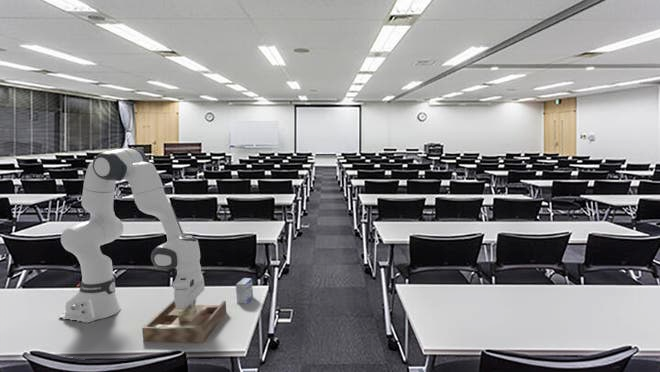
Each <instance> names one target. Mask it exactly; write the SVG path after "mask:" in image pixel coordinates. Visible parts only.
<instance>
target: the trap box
mask: <svg viewBox="0 0 660 372" xmlns="http://www.w3.org/2000/svg"><path fill="white" fill-rule="evenodd" d="M226 302H227V301H226V300H222V301H221V303H220V304H219V305H218V304H217V305H216V304H213V305H212V304H195V306H196V312H197V316H196V317H195V318H194V320H193V321H192V322H184V321H179V318H178V311H179V310H180V309H177V308H176V306H175V299H173V300H171V301H170V302H169V303H168V304H167V305H166V306H165V307H164V308H163V309H161V311H159V312H158V313H157V314H156V315H155V316H154V317H153V318H152V319H150V320H149V321H148V322H147V323H146V324H144V326H142V328H141V330H142V340H143V342H153V343H155V342H156V343H157V342H160V343H183V344H184V343H186V344H187V343H191V344H204V343H205V342H206V340H207V339H208V337H209V336H210V334H211V333H212V332H213V331H214V329H215V328H216V326H218V325H219V323H220V321H221V320H222V319H223V318H224V316H225V315H226V314H227V303H226Z"/></svg>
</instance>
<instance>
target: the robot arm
mask: <svg viewBox="0 0 660 372" xmlns="http://www.w3.org/2000/svg"><path fill="white" fill-rule="evenodd" d="M156 168H157V167H155V165H154V164H153V163H151V162H148V156H147V154H146V153H145V152H144V151H143V150H142V149H139V148H134V147H129V148H118V149H114V150H109V151H103V152H100V153H98V154H96V156H95V157H94V158H93V160H92V161H91V162H89V164H88V166H87V169H86V172H85V175H84V181H83V188H82V195H81V196H82V197H81V206H82V208H83V209H84V210H85V211H87V213H88V212H89V215H90V217H89V220H86V221H83V222H79V223H75V224H72V225H71V226H69V227H67V228H66V229H64V230H63V231H62V232H61V236H60V243H61V245H62V247H63V248H64V249H65V251H67V252H69V253H71V254H73V255H74V256H75V257H76V258H77V260H78V262H79V264H80V265H79V266H80V270H81V271H80V272H81V277H82V281H79V283H78V284H76V288H79V290H78V291H77V292H76V293H74V294H73V295H72V296H71V297H69V299H68V300H67V301H66V304H65V309H64V310H63V311H62V312H61V313H60V314H59V316H58V317H59V319H60V318H64V319H63V320H65V319H70V320H69V321H72V320H77V321H76V322H79V321H82V322H81V323H91V322H94V321H96V320H101V319H105V318H109V317H111V316H113V315H116V314H118V313H119V312H120V311H121V309H122V308H121V306H120V303H119V302H118V301H119V300H118V298H117V293H116V280H115V276H114V272H113V262H112V261H113V260H112V259H111V258H110V257H109V256H107V255H105V254H103V252H102V251H101V246H103V245H105V244H109V243H112V242H114V241H115V240H117V239H119V238H120V237H121V236H122V235H123V233H124V224H123V222H122V221H121V219H120V218H118V217H117V216H116V214H115V210H114V201H115V192H116V184H117V183H116V182H121V181H122V180H125V181H127V182H128V184H129V185H130V186H129V187H130V188H131V193H132V196H133V199H134V203H135V205H136V206H137V209H138V210H139V211H141V212H142V213H144V214H146V215H151V216H154V217H156V218H157V219H158V220H159V221H160V222H161V225H162V227H163V230H164V233H165V235H166V238H167V239H166V240H167V241H166V242H164V243H162V244H160V245H157V246H156V247H155V248H154V249H153V250H152V251H151V254H150V259H151V262H152V265H153V266H154V267H155V268H156V269H158V270H160V271H164V270H171V269H172V270H173V269H176V273H177V274H176V276H175V278H174V281H173V283H172V289H174V290H173V300H175V306H176V308H177V309H186V308H187V307H188V306H195V305H197V304H196V303H197V298H198V297H199V296H200V295H201V294H202V293H203V292H204V291H205V278H204V274H202V265H201V264H200V263H201V262H200V260H201V250H200V249H201V248H200V245H199V244H200V243H199V240H198V239H197V238H196V236H194V235H192V234H185V233H184V232H183V229H182V227H181V224H180V222H179V219H178V217H177V215H176V212H175V208H174V207H173V205H172V204H171V202H170V201H169V199H168V197H167V195H166V192H165V189H164V186H163V182H162V179H161V177H160V174H159V173H158V170H157V169H156Z"/></svg>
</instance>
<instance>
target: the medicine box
mask: <svg viewBox="0 0 660 372" xmlns="http://www.w3.org/2000/svg"><path fill="white" fill-rule="evenodd" d="M253 288H254V287H253V278H249V277H243V278H242V279H240V280H239V281H238V282H237V283H236V284H235V292H236V294H235V295H236V303H237V304H244V305H247V303H248V302H249V301H250V300H251V299H252V298H253V297H254V292H253V291H254V289H253Z"/></svg>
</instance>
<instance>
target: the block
mask: <svg viewBox="0 0 660 372" xmlns="http://www.w3.org/2000/svg"><path fill="white" fill-rule="evenodd" d="M196 316H197V312H196V306H188V307H187V308H186V309H180V310H179V311H178V318H179V321H184V322H192V321H193V320H194V318H195V317H196Z"/></svg>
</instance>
